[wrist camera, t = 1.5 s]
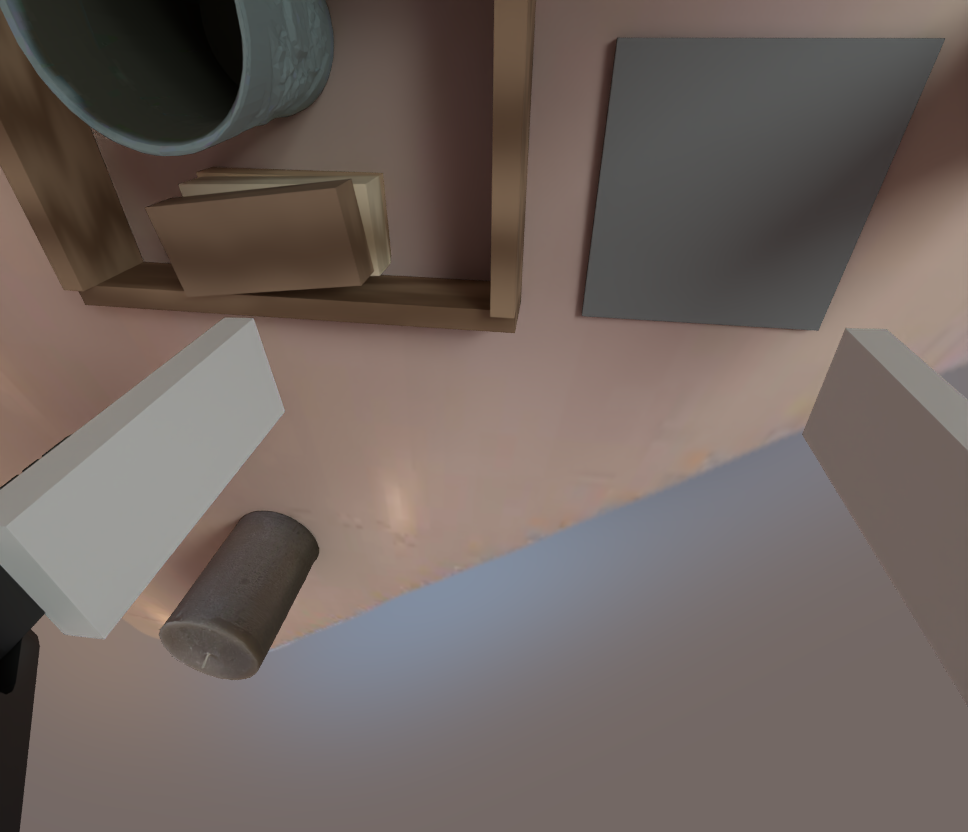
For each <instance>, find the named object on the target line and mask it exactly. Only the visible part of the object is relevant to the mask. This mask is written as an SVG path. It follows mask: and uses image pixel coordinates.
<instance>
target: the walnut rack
mask: <svg viewBox="0 0 968 832" xmlns="http://www.w3.org/2000/svg"><path fill="white" fill-rule="evenodd" d="M535 7H536V0H494V60H493V140H492V219H491V281H480V280H462V279H444V278H426V277H408V276H390V275H380V276H370V277H369V278H368V279H367V280H366V281H365V282H364V283H363V284H362V285H361V286H347V287H332V288H317V289H302V290H287V291H271V292H256V293H241V294H226V295H211V296H195V297H187V296H186V294H185V291H184V289H183V287H182V285H181V283H180V281H179V279H178V277H177V275H176V273H175V271H174V268H173V266H172V264H171V263H153V262H143V259H142V257H141V254H140V252H139V249H138V247H137V244H136V242H135V239H134V237H133V234H132V232H131V229H130V227H129V224H128V222H127V219H126V217H125V214H124V212H123V209H122V207H121V204H120V202H119V199H118V197H117V194H116V191H115V189H114V186H113V184H112V181H111V179H110V176H109V174H108V171H107V169H106V166H105V164H104V161H103V159H102V156H101V154H100V151H99V149H98V146H97V144H96V141H95V139H94V136H93V134H92V131H91V129H90V126H89V125H88V124H86V123H85V122H84V121H83V120H81V119H80V118H79V117H78V116H77V115H75V114H74V113H73V112H72V111H71V110H70V109H69V108H68V107H67V106H66V105H65V104H64V103H63V102H62V101H61V100H60V99H59V98H58V97H57V96H56V95H55V94H54V93H53V92H52V91H51V90H50V88H49V87H48V86H47V85H46V84H45V82H44V81H43V80H42V79H41V78H40V76H39V75H38V74H37V72H36V71H35V69H34V67H33V66H32V64H31V63H30V61H29V60H28V58H27V57H26V55H25V54H24V52H23V51H22V49H21V48H20V46H19V45H18V43H17V41H16V39H15V37H14V35H13V33H12V31H11V29H10V27H9V25H8V23H7V20H6V18H5V16H4V14H3V12H2V10H1V7H0V165H1V167H2V169H3V171H4V173H5V175H6V177H7V179H8V181H9V183H10V185H11V187H12V189H13V191H14V193H15V195H16V197H17V199H18V201H19V203H20V205H21V207H22V209H23V211H24V213H25V215H26V217H27V218H28V220H29V222H30V224H31V226H32V228H33V230H34V232H35V234H36V236H37V238H38V240H39V242H40V244H41V246H42V248H43V250H44V252H45V254H46V256H47V258H48V260H49V262H50V264H51V266H52V268H53V270H54V272H55V273H56V275H57V277H58V279H59V281H60V283H61V285H62V287H63V289H64V290H70V291H79V293H80V295H81V297H82V299H83V301H84V303H85V305H96V306H112V307H127V308H142V309H157V310H172V311H187V312H203V313H218V314H233V315H248V316H263V317H278V318H294V319H309V320H324V321H339V322H354V323H369V324H385V325H400V326H415V327H430V328H445V329H460V330H476V331H491V332H506V333H515V329H516V324H517V319H518V314H519V308H520V303H521V286H522V266H523V246H524V226H525V206H526V186H527V166H528V146H529V126H530V106H531V86H532V67H533V47H534V27H535Z"/></svg>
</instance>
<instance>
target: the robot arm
mask: <svg viewBox="0 0 968 832" xmlns="http://www.w3.org/2000/svg"><path fill="white" fill-rule="evenodd" d="M284 412H285V410H284V407H283V404H282V401H281V398H280V395H279V392H278V389H277V386H276V383H275V380H274V377H273V374H272V371H271V368H270V365H269V362H268V359H267V356H266V354H265V351H264V348H263V345H262V342H261V339H260V336H259V333H258V330H257V327H256V324H255V321H254V318H223V319H222V320H221V321H219V322H218V323H217V324H215V325H214V326H213V327H212V328H210V329H209V330H208V331H206V332H205V333H204V334H202V335H201V336H200V337H198V338H197V339H196V340H195V341H193V342H192V343H191V344H189V345H188V346H187V347H185V348H184V349H183V350H182V351H180V352H179V353H178V354H176V355H175V356H174V357H172V358H171V359H170V360H169V361H167V362H166V363H165V364H163V365H162V366H161V367H159V368H158V369H157V370H156V371H154V372H153V373H152V374H150V375H149V376H148V377H146V378H145V379H144V380H142V381H141V382H140V383H139V384H137V385H136V386H135V387H133V388H132V389H131V390H129V391H128V392H127V393H126V394H124V395H123V396H122V397H120V398H119V399H118V400H116V401H115V402H114V403H113V404H111V405H110V406H109V407H107V408H106V409H105V410H103V411H102V412H101V413H100V414H98V415H97V416H96V417H94V418H93V419H92V420H90V421H89V422H88V423H87V424H85V425H84V426H83V427H81V428H80V429H79V430H77V431H76V432H75V433H73V434H72V435H70V436H68V437H66V438H65V439H63V440H62V441H61V442H59V443H58V444H57V445H55V446H54V447H53V448H51V449H50V450H49V451H48V452H46V453H45V454H44V455H42V458H41V459H37V460H36V461H34V462H33V463H32V464H31V465H29V466H28V467H27V468H25V469H24V470H23V471H22V472H23V473H21V474H20V475H16V476H15V477H14V478H12V479H11V480H10V481H8V482H7V483H6V484H4V485H3V486H2V487H0V832H19V831H20V822H21V813H22V804H23V795H24V786H25V776H26V767H27V758H28V749H29V740H30V730H31V721H32V712H33V703H34V692H35V684H36V675H37V666H38V657H39V647H40V645H39V640H38V636H37V635H36V634H35V633H34V632H33V631H32V630H31V628H32V627H33V626H34V625H35V624H36V622H37V621H38V620H39V619H40V618H41V617H42V616H43V615H44V614H45V615H46V616H47V617H48V618H49V619H50V620H51V621H52V622H53V623H54V624H55V625H56V626H57V627H58V628H59V629H60V631H61V632H62V633H63V634H65V635H72V636H80V637H89V638H98V639H105V638H106V637H107V635H108V634H109V633H110V632H111V630H112V629H113V628H114V627H115V625H116V624H117V623H118V622H119V620H120V619H121V618H122V617H123V615H124V614H125V613H126V612H127V610H128V609H129V608H130V607H131V605H132V604H133V603H134V601H135V600H136V599H137V598H138V596H139V595H140V594H141V593H142V591H143V590H144V589H145V588H146V586H147V585H148V584H149V583H150V581H151V580H152V579H153V578H154V576H155V575H156V574H157V572H158V571H159V570H160V569H161V567H162V566H163V565H164V564H165V562H166V561H167V560H168V559H169V557H170V556H171V555H172V554H173V552H174V551H175V550H176V548H177V547H178V546H179V545H180V543H181V542H182V541H183V540H184V538H185V537H186V536H187V535H188V533H189V532H190V531H191V530H192V528H193V527H194V526H195V525H196V523H197V522H198V521H199V519H200V518H201V517H202V516H203V514H204V513H205V512H206V511H207V509H208V508H209V507H210V506H211V504H212V503H213V502H214V501H215V499H216V498H217V497H218V495H219V494H220V493H221V492H222V490H223V489H224V488H225V487H226V485H227V484H228V483H229V482H230V480H231V479H232V478H233V477H234V475H235V474H236V473H237V472H238V470H239V469H240V468H241V466H242V465H243V464H244V463H245V461H246V460H247V459H248V458H249V456H250V455H251V454H252V453H253V451H254V450H255V449H256V448H257V446H258V445H259V444H260V442H261V441H262V440H263V439H264V437H265V436H266V435H267V434H268V432H269V431H270V430H271V429H272V427H273V426H274V425H275V424H276V422H277V421H278V420H279V419H280V417H281V416H282V415H283V413H284ZM802 435H803V437H804V438H805V440H806V442H807V443H808V445H809V447H810V448H811V450H812V451H813V453H814V455H815V456H816V458H817V460H818V461H819V463H820V465H821V466H822V468H823V470H824V471H825V473H826V475H827V476H828V478H829V479H830V481H831V483H832V484H833V486H834V488H835V489H836V491H837V493H838V494H839V496H840V498H841V499H842V501H843V502H844V504H845V506H846V507H847V509H848V510H849V512H850V514H851V516H852V517H853V519H854V520H855V522H856V524H857V525H858V527H859V528H860V530H861V532H862V533H863V535H864V537H865V539H866V540H867V542H868V544H869V545H870V546H871V548H872V550H873V552H874V553H875V555H876V557H877V558H878V560H879V562H880V563H881V565H882V566H883V568H884V570H885V571H886V573H887V575H888V576H889V578H890V580H891V581H892V583H893V584H894V586H895V588H896V590H897V591H898V593H899V594H900V596H901V598H902V599H903V601H904V603H905V604H906V606H907V608H908V609H909V611H910V612H911V614H912V615H913V617H914V619H915V620H916V622H917V624H918V626H919V627H920V629H921V631H922V632H923V634H924V636H925V637H926V639H927V640H928V642H929V644H930V645H931V647H932V649H933V650H934V652H935V653H936V655H937V657H938V659H939V660H940V662H941V663H942V665H943V667H944V668H945V670H946V672H947V673H948V675H949V677H950V678H951V680H952V681H953V683H954V685H955V686H956V688H957V690H958V691H959V693H960V695H961V696H962V698H963V700H964V701H965V703H966V705H967V706H968V400H967V399H966V398H965V397H964V396H963V395H962V394H960V393H959V392H958V391H957V390H956V389H955V388H954V387H952V386H951V385H950V384H949V383H948V382H947V381H946V380H944V379H943V378H942V377H941V376H940V375H939V374H938V373H936V372H935V371H934V370H933V369H932V368H931V367H930V366H928V365H927V364H926V363H925V362H924V361H923V360H922V359H920V358H919V357H918V356H917V355H916V354H915V353H914V352H912V351H911V350H910V349H909V348H908V347H907V346H905V345H904V344H903V343H902V342H901V341H900V340H899V339H897V338H896V337H895V336H894V335H893V334H892V333H891V332H889V331H888V330H887V329H859V328H845V331H844V333H843V336H842V338H841V341H840V343H839V345H838V348H837V350H836V353H835V355H834V358H833V360H832V363H831V365H830V367H829V370H828V372H827V375H826V377H825V380H824V382H823V385H822V387H821V390H820V392H819V394H818V397H817V399H816V402H815V404H814V407H813V409H812V412H811V414H810V416H809V419H808V421H807V424H806V426H805V429H804V431H803V434H802Z"/></svg>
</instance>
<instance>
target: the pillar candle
mask: <svg viewBox="0 0 968 832" xmlns="http://www.w3.org/2000/svg"><path fill="white" fill-rule="evenodd" d="M318 555H319V547H318V544H317V542H316V540H315V538H314V536H313V535H312V534H311V533H310V532H309V531H308V530H307V529H306V528H305V527H304V526H303V525H302V524H300V523H298V522H297V521H296V520H294V519H292V518H290V517H288V516H285V515H283V514H278V513H275V512H270V511H255V512H252V513H249V514H247V515H245V516H244V517H243V518H242V519H241V520H240V521H239V522H238V524H237V525H236V527H235V528H234V529H233V531H232V532H231V533H230V535H229V536H228V537H227V539H226V540H225V541H224V543H223V544H222V545H221V547H220V548H219V550H218V551H217V552H216V554H215V555H214V556H213V558H212V559H211V561H210V562H209V563H208V565H207V566H206V568H205V569H204V570H203V572H202V573H201V575H200V576H199V577H198V579H197V580H196V581H195V583H194V584H193V586H192V587H191V588H190V590H189V591H188V592H187V594H186V595H185V597H184V598H183V599H182V601H181V602H180V603H179V605H178V606H177V608H176V609H175V610H174V612H173V613H172V614H171V616H170V617H169V618H168V620H167V621H166V622H165V624H164V625H163V626H162V628H161V629H160V633H159V636H160V639H161V642H162V644H163V645H164V647H165V648H166V649H167V650H168V651H169V652H170V654H171V655H172V657H174V658H175V659H176V660H177V661H179V662H182V663H184V664H186V665H187V666H189V667H191V668H193V669H195V670H197V671H200V672H202V673H204V674H207V675H211V676H214V677H217V678H221V679H230V680H240V679H246V678H250V677H251V676H253V675H254V674H255V673H256V672H257V671H258V670H259V668H260V666H261V664H262V662H263V660H264V658H265V657H266V655H267V653H268V651H269V649H270V647H271V645H272V643H273V641H274V639H275V637H276V635H277V634H278V632H279V630H280V628H281V626H282V624H283V622H284V620H285V618H286V616H287V614H288V612H289V610H290V608H291V606H292V604H293V602H294V600H295V599H296V597H297V594H298V593H299V590H300V589H301V587H302V585H303V583H304V581H305V580H306V577H307V575H308V573H309V571H310V569H311V567H312V565H313V563H314V562H315V560H316V559H317V557H318Z"/></svg>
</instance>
